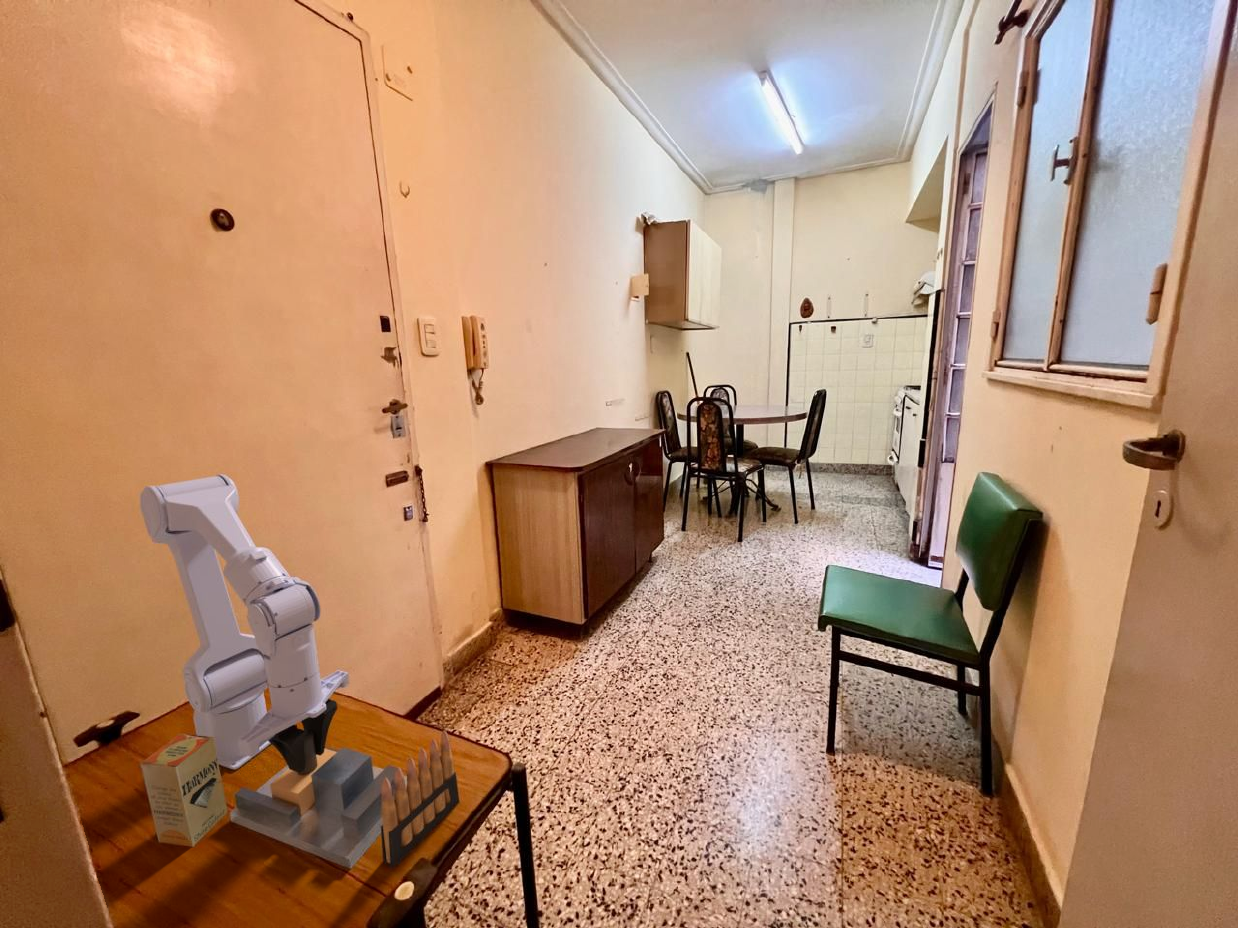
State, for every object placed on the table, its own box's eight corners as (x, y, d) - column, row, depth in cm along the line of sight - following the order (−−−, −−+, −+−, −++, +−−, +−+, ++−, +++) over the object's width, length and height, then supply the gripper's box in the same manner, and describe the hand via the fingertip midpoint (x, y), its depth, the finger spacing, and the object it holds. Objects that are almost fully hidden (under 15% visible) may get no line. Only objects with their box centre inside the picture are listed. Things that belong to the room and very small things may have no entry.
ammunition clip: (392, 868, 59) (382, 786, 57) (382, 861, 60) (372, 780, 58) (459, 801, 68) (454, 728, 66) (450, 795, 69) (444, 723, 67)
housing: (308, 809, 65) (302, 772, 64) (339, 780, 70) (334, 744, 69) (345, 823, 63) (340, 784, 62) (375, 791, 68) (371, 755, 67)
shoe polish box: (227, 811, 67) (213, 736, 64) (192, 846, 62) (175, 767, 59) (195, 807, 67) (180, 733, 65) (158, 842, 62) (140, 763, 60)
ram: (273, 805, 66) (264, 752, 64) (319, 765, 72) (311, 716, 71) (301, 815, 64) (292, 761, 63) (345, 773, 71) (338, 723, 69)
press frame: (231, 821, 65) (225, 790, 64) (311, 754, 76) (307, 727, 75) (350, 868, 59) (346, 835, 58) (418, 788, 70) (415, 759, 69)
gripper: (261, 717, 56) (278, 813, 59) (361, 649, 70) (370, 730, 73) (219, 704, 59) (237, 798, 61) (323, 640, 72) (334, 719, 75)
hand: (307, 760), depth 67 cm, fingers closed on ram, 2 cm apart
